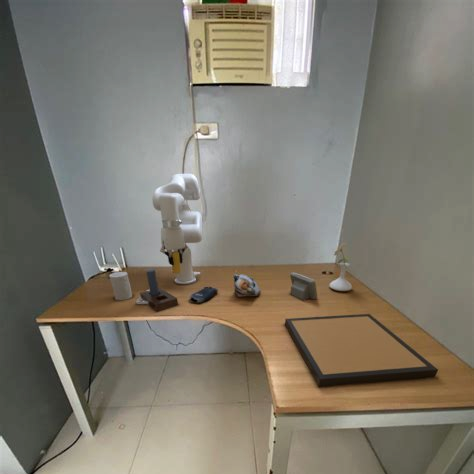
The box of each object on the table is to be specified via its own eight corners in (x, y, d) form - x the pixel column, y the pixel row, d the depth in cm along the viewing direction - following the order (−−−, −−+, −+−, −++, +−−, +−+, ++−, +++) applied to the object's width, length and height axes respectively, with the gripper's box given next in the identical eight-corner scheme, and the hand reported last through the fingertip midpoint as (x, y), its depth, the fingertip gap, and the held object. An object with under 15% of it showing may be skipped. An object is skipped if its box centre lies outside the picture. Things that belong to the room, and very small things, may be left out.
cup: (126, 300, 126) (120, 277, 120) (111, 299, 127) (105, 276, 122) (135, 294, 133) (130, 272, 127) (121, 293, 134) (116, 271, 129)
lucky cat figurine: (265, 294, 130) (263, 276, 119) (247, 308, 127) (243, 290, 116) (247, 279, 138) (243, 260, 127) (230, 291, 135) (224, 273, 124)
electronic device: (202, 293, 136) (185, 300, 123) (204, 283, 134) (186, 289, 121) (217, 298, 133) (201, 306, 120) (219, 288, 131) (203, 295, 118)
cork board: (318, 386, 71) (434, 377, 74) (320, 379, 70) (438, 369, 73) (285, 324, 103) (367, 319, 106) (285, 318, 101) (369, 313, 104)
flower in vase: (339, 284, 143) (348, 238, 131) (356, 290, 134) (366, 242, 122) (321, 288, 138) (329, 241, 126) (337, 295, 129) (347, 245, 117)
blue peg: (157, 297, 129) (153, 268, 122) (161, 299, 126) (156, 270, 119) (150, 299, 127) (144, 270, 120) (153, 301, 124) (148, 272, 117)
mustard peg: (178, 270, 128) (176, 250, 123) (182, 272, 125) (180, 252, 121) (171, 272, 126) (168, 252, 121) (175, 274, 123) (172, 253, 118)
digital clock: (318, 300, 124) (321, 279, 119) (302, 302, 121) (305, 281, 116) (300, 288, 137) (302, 269, 132) (285, 290, 135) (287, 271, 130)
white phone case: (151, 304, 121) (161, 292, 134) (150, 301, 120) (160, 290, 134) (136, 304, 122) (147, 292, 135) (135, 301, 121) (147, 289, 134)
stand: (161, 293, 133) (160, 287, 132) (178, 304, 121) (177, 298, 119) (141, 299, 127) (139, 292, 126) (156, 311, 115) (155, 304, 113)
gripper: (183, 221, 122) (187, 259, 131) (150, 225, 113) (156, 265, 121) (191, 223, 117) (194, 262, 126) (157, 227, 108) (163, 268, 116)
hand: (176, 263), depth 123 cm, fingers closed on mustard peg, 4 cm apart
